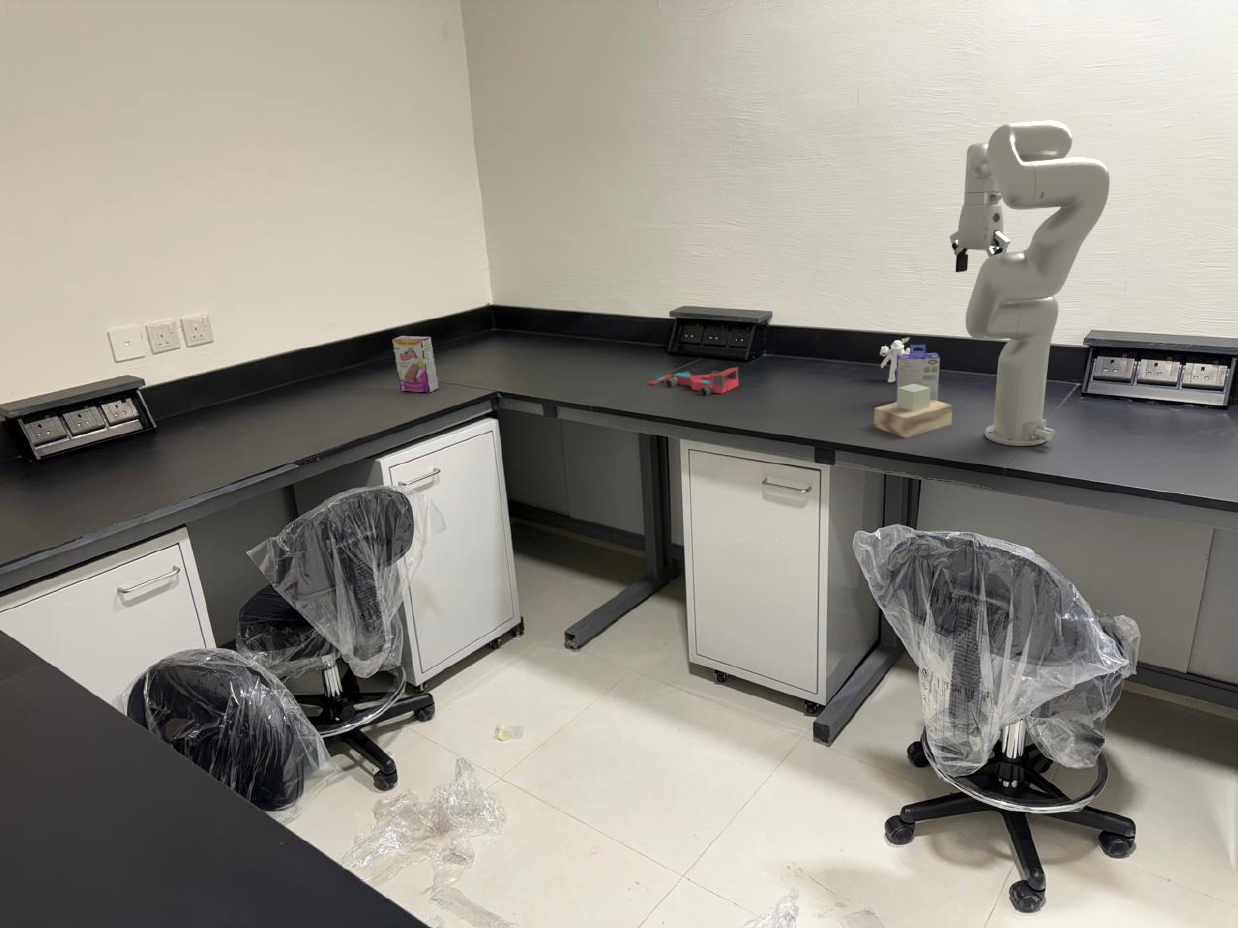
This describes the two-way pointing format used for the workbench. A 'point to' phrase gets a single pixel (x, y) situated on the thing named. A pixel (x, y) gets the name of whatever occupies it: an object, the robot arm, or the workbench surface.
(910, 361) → the ink cartridge box
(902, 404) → the sage cube
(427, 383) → the candy bar box
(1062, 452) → the workbench surface
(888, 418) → the maple block
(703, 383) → the race car
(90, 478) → the workbench surface
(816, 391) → the workbench surface
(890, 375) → the hat wearing toy figure
